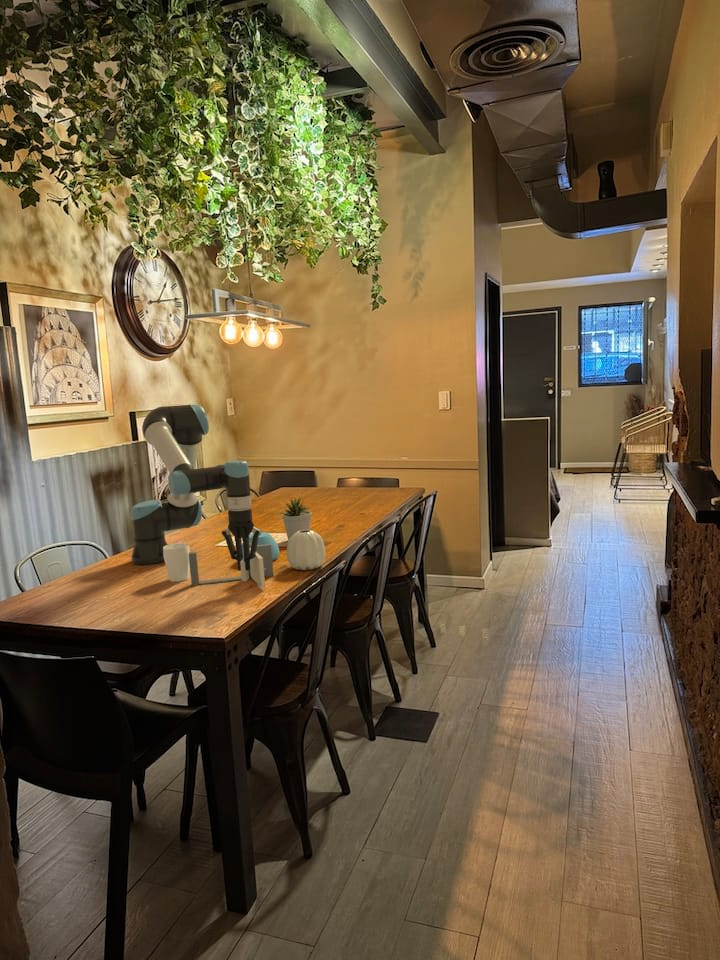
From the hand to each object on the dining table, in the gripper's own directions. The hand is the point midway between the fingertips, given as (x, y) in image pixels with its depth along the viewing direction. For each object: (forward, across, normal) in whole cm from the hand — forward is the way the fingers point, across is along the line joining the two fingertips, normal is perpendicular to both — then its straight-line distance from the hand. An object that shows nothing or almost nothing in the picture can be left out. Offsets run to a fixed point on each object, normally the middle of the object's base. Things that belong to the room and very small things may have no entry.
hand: (245, 579), depth 210 cm
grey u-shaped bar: (+3, -8, +10) cm, 13 cm away
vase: (+3, +15, +24) cm, 28 cm away
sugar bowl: (+3, -7, +36) cm, 37 cm away
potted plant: (+3, +1, +65) cm, 65 cm away
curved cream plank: (+2, +3, +4) cm, 6 cm away
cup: (+3, -28, +12) cm, 31 cm away
